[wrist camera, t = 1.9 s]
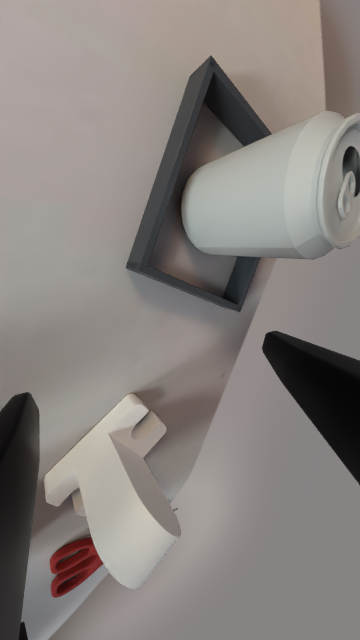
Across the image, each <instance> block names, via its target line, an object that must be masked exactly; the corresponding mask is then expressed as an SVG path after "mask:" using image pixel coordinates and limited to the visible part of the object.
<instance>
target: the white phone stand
mask: <svg viewBox="0 0 360 640" xmlns="http://www.w3.org/2000/svg"><path fill="white" fill-rule="evenodd" d="M148 412H149V410H148V409H147V407H146V406H145V405H144V404H143V402H142V401H141V400H140V399H139V398H138V397H137V396H136V395H135V394H132V393H131V394H128V395H126V396H125V397H124V398H123V399H122V400H121V401H120V402H119V403H118V404H117V405H116V406H115V407H114V408H113V409H112V410H111V411H110V412H109V413H108V414H107V415H106V416H105V417H104V418H103V419H102V420H101V421H100V422H99V423H98V424H97V425H96V426H95V427H94V428H93V429H92V430H91V431H90V432H89V433H88V434H87V435H86V436H84V437H83V438H82V439H81V440H80V441H79V442H78V443H77V444H76V445H75V446H74V447H73V448H72V449H71V450H70V451H69V452H68V453H67V454H66V455H65V456H64V457H63V458H62V459H61V460H60V461H59V462H58V463H57V464H56V465H55V466H54V467H53V468H52V469H51V470H50V471H49V472H48V473H47V474H46V475H45V477H44V485H45V496H46V502H47V503H49V504H51V505H54V506H56V507H58V506H59V505H60V504H61V503H62V502H63V501H64V500H65V499H66V498H67V497H68V496H69V495H70V494H71V493H72V492H73V491H74V490H75V491H74V492H73V493H72V499H73V504H74V509H75V514H77V515H80V516H82V517H87V521H88V525H89V529H90V533H91V537H92V540H93V543H94V546H95V548H96V550H97V552H98V555H99V557H100V559H101V560H102V562H103V563H104V565H105V567H106V568H107V570H108V571H109V572H110V573H111V574H112V576H113V577H114V578H115V579H116V580H117V581H119V582H120V583H121V584H122V585H123V586H125V587H127V588H130V589H138V588H139V587H140V586H141V585H142V584H143V583H144V582H145V581H146V579H147V578H148V577H149V575H150V574H151V573H152V571H153V570H154V569H155V568H156V566H157V565H158V564H159V562H160V561H161V560H162V559H163V557H164V556H165V555H166V553H167V552H168V551H169V550H170V548H171V547H172V546H173V544H174V543H175V542H176V540H177V539H178V538H179V537H180V535H181V528H180V525H179V522H178V520H177V517H176V515H175V513H174V511H173V510H172V508H171V506H170V504H169V503H168V501H167V499H166V497H165V496H164V494H163V492H162V490H161V489H160V487H159V485H158V483H157V482H156V480H155V478H154V476H153V475H152V473H151V471H150V469H149V468H148V466H147V464H146V462H145V461H144V459H143V457H144V456H145V455H146V454H147V453H148V452H149V451H150V450H151V449H152V447H153V446H154V445H155V444H156V443H157V442H158V441H159V440H160V439H161V438H162V436H163V435H164V434H165V433H166V430H167V428H166V426H165V425H164V424H163V422H162V421H161V420H160V419H159V417H158V416H157V415H156V414H155V413H154V412H153V411H152V410H151V412H150V413H149V414H148V415H147V416H146V417H145V418H144V419H143V420H142V421H141V422H140V423H139V424H138V425H136V424H137V423H138V422H139V421H140V420H141V419H142V418H143V417H144V416H145V415H146V414H147V413H148ZM135 425H136V426H135Z"/></svg>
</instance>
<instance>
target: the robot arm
mask: <svg viewBox="0 0 360 640" xmlns="http://www.w3.org/2000/svg"><path fill="white" fill-rule="evenodd" d="M262 350H263V353H264V354H265V356H266V358H267V359H268V361H269V363H270V364H271V366H272V367H273V369H274V371H275V372H276V374H277V376H278V377H279V379H280V380H281V382H282V383H283V385H284V386H285V387H286V389H287V390H288V391H289V393H290V394H291V395H292V396H293V398H294V399H295V400H296V402H297V403H298V404H299V406H300V407H301V408H302V410H303V411H304V412H305V414H306V415H307V416H308V418H309V419H310V420H311V421H312V423H313V424H314V425H315V426H316V428H317V429H318V431H319V432H320V433H321V434H322V436H323V437H324V439H325V440H326V441H327V442H328V444H329V445H330V446H331V448H332V449H333V450H334V452H335V453H336V454H337V456H338V457H339V458H340V459H341V461H342V462H343V464H344V465H345V466H346V467H347V469H348V470H349V471H350V473H351V474H352V475H353V476H354V478H355V479H356V480H357V482H358V483H359V485H360V361H359V360H356V359H354V358H351V357H348V356H345V355H342V354H339V353H337V352H334V351H331V350H328V349H326V348H323V347H320V346H317V345H314V344H312V343H309V342H306V341H303V340H301V339H298V338H295V337H292V336H289V335H287V334H284V333H281V332H278V331H272V332H268V333H267V334H266V335H265V339H264V343H263V346H262ZM39 456H40V448H39V410H38V407H37V405H36V403H35V401H34V399H33V397H32V395H31V394H30V393H29V392H26V393H22V394H18V395H15V396H13V397H12V398H11V399H10V400H9V402H8V403H7V404H6V405H5V406H4V408H3V409H2V410H1V411H0V640H28V638H27V633H26V628H25V624H24V622H21V615H22V606H23V598H24V589H25V581H26V573H27V564H28V556H29V547H30V539H31V531H32V522H33V514H34V505H35V497H36V488H37V480H38V472H39Z"/></svg>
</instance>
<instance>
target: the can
mask: <svg viewBox="0 0 360 640" xmlns="http://www.w3.org/2000/svg"><path fill="white" fill-rule="evenodd" d="M181 213H182V221H183V226H184V228H185V231H186V233H187V236H188V238H189V239H190V241H191V242H192V243H193V245H194V246H195V247H196V248H197V249H199V250H200V251H202V252H203V253H205V254H211V255H223V256H246V257H269V258H293V259H316V258H319V257H322V256H324V255H326V254H327V253H328V252H330V251H331V250H332V249H333V248H337V249H343V248H346V247H349V246H350V245H351V244H352V243H353V242H355V241H356V239H358V237H360V114H359V113H355V114H353V115H352V116H350V117H348V118H347V119H346V118H344V117H343V116H341V115H340V114H338V113H336V112H330V111H323V112H321V113H318V114H316V115H314V116H312V117H310V118H307V119H305V120H303V121H301V122H298V123H296V124H294V125H292V126H290V127H287V128H285V129H283V130H281V131H278V132H276V133H274V134H272V135H269V136H267V137H265V138H263V139H261V140H258V141H256V142H254V143H252V144H249V145H247V146H245V147H243V148H241V149H238V150H236V151H234V152H232V153H229V154H227V155H225V156H223V157H221V158H218V159H216V160H214V161H212V162H209V163H207V164H205V165H203V166H201V167H199V168H198V169H196V170H195V172H194V173H193V174H192V175H191V176H190V178H189V179H188V181H187V183H186V186H185V188H184V191H183V195H182V203H181Z"/></svg>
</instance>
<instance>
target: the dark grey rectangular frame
mask: <svg viewBox="0 0 360 640" xmlns="http://www.w3.org/2000/svg"><path fill="white" fill-rule="evenodd" d="M203 101H204V103H205V104H206V105H207V106H208V107H209V108H210V109H211V110H212V111H213V112H214V113H215V115H216V116H217V117H218V118H219V119H220V120H221V121H222V122H223V123H224V124H225V126H226V127H227V128H228V129H229V130H230V131H231V132H232V133H233V134H234V135H235V137H236V138H237V139H238V140H239V141H240V142H241V143H242V144H243V145H244V146H247V145H249V144H252V143H254V142H256V141H258V140H261V139H263V138H265V137H267V136H269V135H272V134H271V132H270V131H269V130H268V128H267V127H266V126H265V124H264V123H263V122H262V121H261V119H260V118H259V117H258V115H257V114H256V113H255V112H254V110H253V109H252V108H251V106H250V105H249V104H248V102H247V101H246V100H245V99H244V97H243V96H242V95H241V93H240V92H239V91H238V90H237V88H236V87H235V86H234V84H233V83H232V82H231V81H230V79H229V78H228V77H227V75H226V74H225V73H224V71H223V70H222V69H221V68H220V66H219V65H218V64H217V62H216V61H215V60H214V58H213V57H212V56H210V57H209V58H208V59H207V60H206V61H205V62H204V63H203V64H202V65H201V66H200V67H199V68H198V69H197V70H196V71H195V72H194V73H193V74H192V75H191V76H190V78H189V81H188V84H187V87H186V90H185V93H184V96H183V99H182V102H181V105H180V108H179V111H178V113H177V116H176V119H175V122H174V125H173V128H172V131H171V134H170V137H169V140H168V143H167V146H166V149H165V152H164V155H163V158H162V161H161V164H160V167H159V170H158V173H157V176H156V179H155V182H154V185H153V188H152V191H151V194H150V197H149V200H148V203H147V206H146V209H145V212H144V215H143V218H142V221H141V224H140V227H139V230H138V233H137V236H136V239H135V242H134V245H133V248H132V251H131V254H130V257H129V259H128V262H127V265H126V268H127V269H129V270H132V271H134V272H137V273H139V274H142V275H144V276H147V277H149V278H152V279H154V280H157V281H159V282H162V283H164V284H167V285H169V286H172V287H174V288H177V289H179V290H182V291H184V292H187V293H189V294H192V295H194V296H197V297H199V298H202V299H204V300H207V301H209V302H212V303H214V304H217V305H219V306H221V307H224V308H228V309H231V310H234V311H237V312H240V311H241V308H242V306H243V303H244V300H245V298H246V295H247V292H248V290H249V287H250V284H251V282H252V279H253V276H254V274H255V271H256V268H257V266H258V263H259V260H260V258H261V257H246V256H238V258H237V261H236V263H235V266H234V269H233V272H232V274H231V277H230V280H229V282H228V285H227V288H226V291H225V293H224V296H223V298H221V297H218V296H216V295H214V294H212V293H209V292H207V291H205V290H202V289H200V288H198V287H195V286H193V285H191V284H188V283H186V282H184V281H181V280H179V279H177V278H175V277H172V276H170V275H168V274H165V273H163V272H161V271H158V270H156V269H154V268H151V267H149V266H147V265H148V262H149V259H150V256H151V253H152V250H153V247H154V245H155V242H156V239H157V236H158V233H159V230H160V227H161V224H162V221H163V218H164V215H165V212H166V209H167V207H168V204H169V201H170V198H171V195H172V192H173V189H174V186H175V183H176V180H177V177H178V174H179V171H180V169H181V166H182V163H183V160H184V157H185V154H186V151H187V148H188V145H189V142H190V139H191V136H192V133H193V130H194V128H195V125H196V122H197V119H198V116H199V113H200V110H201V107H202V104H203Z"/></svg>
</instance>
